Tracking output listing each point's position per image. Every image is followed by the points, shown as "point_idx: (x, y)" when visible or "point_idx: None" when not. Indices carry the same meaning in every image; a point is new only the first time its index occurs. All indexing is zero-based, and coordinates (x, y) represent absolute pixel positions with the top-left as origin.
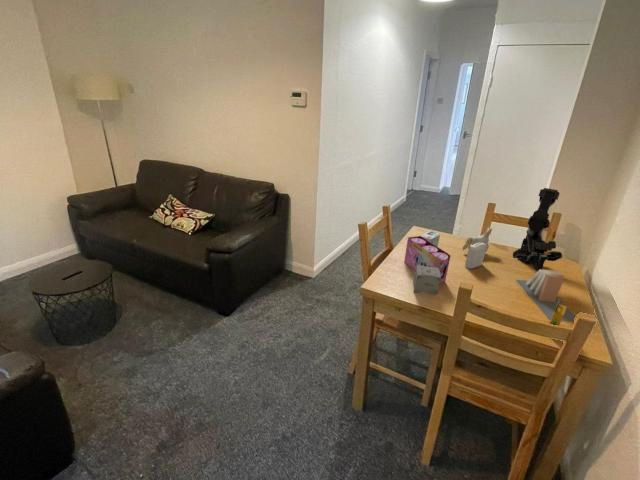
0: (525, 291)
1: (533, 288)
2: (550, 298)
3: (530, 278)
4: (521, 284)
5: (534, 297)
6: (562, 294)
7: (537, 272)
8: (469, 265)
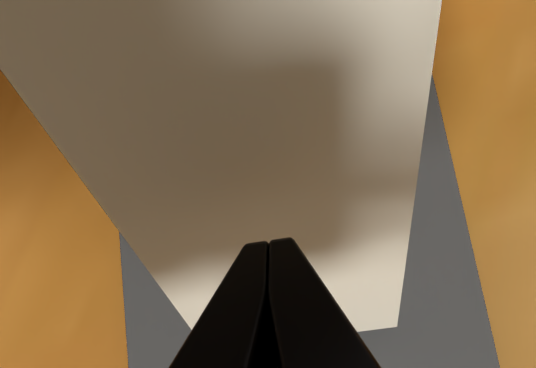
0: (439, 116)
1: None
2: None
3: (404, 252)
4: (451, 291)
5: None
6: (17, 207)
7: (429, 12)
8: None
